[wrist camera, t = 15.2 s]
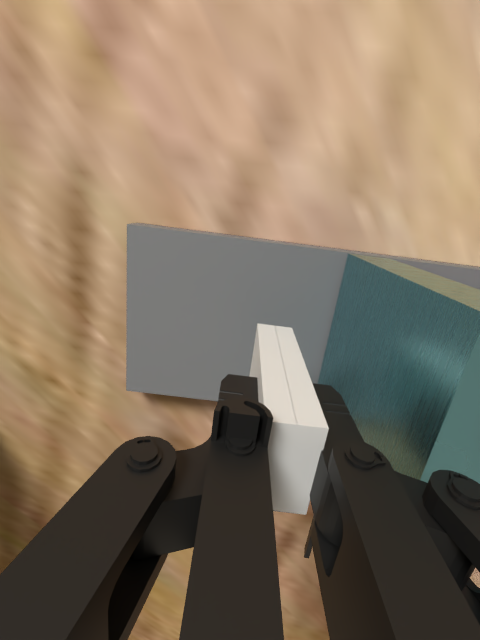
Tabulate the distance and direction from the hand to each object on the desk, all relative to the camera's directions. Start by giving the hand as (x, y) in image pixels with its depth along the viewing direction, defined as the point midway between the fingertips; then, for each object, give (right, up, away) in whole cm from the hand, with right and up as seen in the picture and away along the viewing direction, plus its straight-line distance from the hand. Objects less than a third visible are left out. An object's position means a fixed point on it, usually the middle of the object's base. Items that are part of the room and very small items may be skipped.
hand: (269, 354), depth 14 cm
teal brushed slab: (+4, 0, +2) cm, 5 cm away
